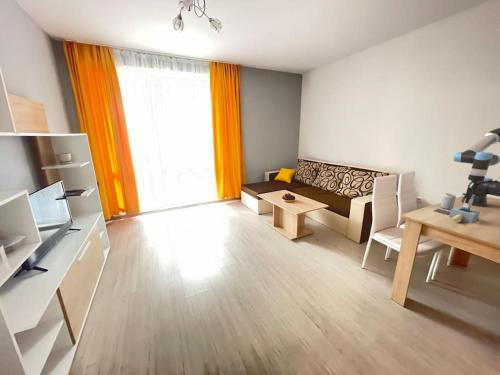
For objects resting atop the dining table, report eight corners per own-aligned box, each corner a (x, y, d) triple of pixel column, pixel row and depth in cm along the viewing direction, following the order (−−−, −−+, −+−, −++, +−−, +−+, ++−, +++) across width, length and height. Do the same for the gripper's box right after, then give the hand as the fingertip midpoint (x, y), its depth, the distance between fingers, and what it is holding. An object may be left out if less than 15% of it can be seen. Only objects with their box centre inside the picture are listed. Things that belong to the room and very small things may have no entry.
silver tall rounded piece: (457, 211, 151) (463, 192, 147) (471, 215, 145) (478, 195, 140) (455, 212, 149) (461, 193, 145) (469, 216, 143) (477, 196, 139)
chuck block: (455, 213, 156) (457, 206, 154) (477, 219, 146) (480, 211, 144) (443, 219, 145) (445, 211, 144) (466, 226, 135) (468, 218, 133)
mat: (438, 209, 163) (438, 208, 163) (451, 212, 157) (451, 212, 157) (433, 211, 160) (433, 210, 160) (446, 214, 153) (447, 214, 153)
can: (448, 207, 168) (453, 193, 165) (454, 210, 161) (459, 196, 158) (437, 206, 171) (441, 192, 167) (443, 209, 164) (447, 195, 160)
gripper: (473, 172, 146) (463, 203, 152) (465, 175, 138) (454, 207, 144) (489, 174, 139) (478, 206, 146) (481, 177, 131) (469, 210, 138)
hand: (466, 206), depth 145 cm, fingers closed on silver tall rounded piece, 4 cm apart
